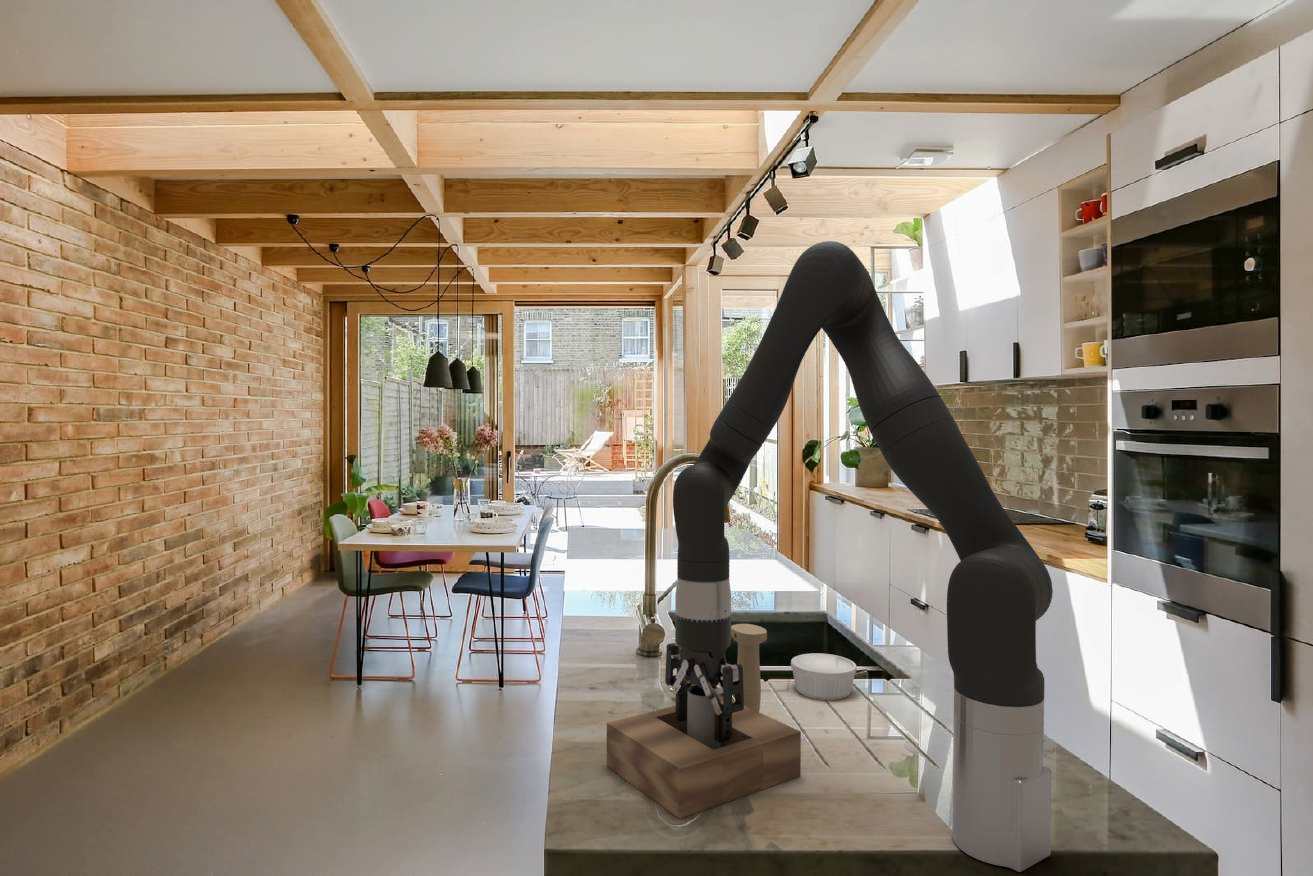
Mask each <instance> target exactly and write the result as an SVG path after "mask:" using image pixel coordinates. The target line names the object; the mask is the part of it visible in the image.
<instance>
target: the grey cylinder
mask: <svg viewBox="0 0 1313 876" xmlns="http://www.w3.org/2000/svg"><path fill="white" fill-rule="evenodd" d="M718 688H719V687H718V686H716V687H714V688H713V689H718ZM718 697H719V699H720V702H721V696H718ZM715 713H716V712H715V710H714V707H713V704H712V702H711V700H710V699H708V698H707V697H706V695H705V692H704V690H703V689H701V688H700V687H698V686H697V685H693V686H691V687H689V688H688V691H687V735H688V736H690V737H692V738H693V739H695V740H697V741H699V742H701V743H702V744H704V745H706V746H708V747H709V748H711V749H713V750H714V749H717V748H721V743H719V742H717V741H715V739H714V718H715Z"/></svg>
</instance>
